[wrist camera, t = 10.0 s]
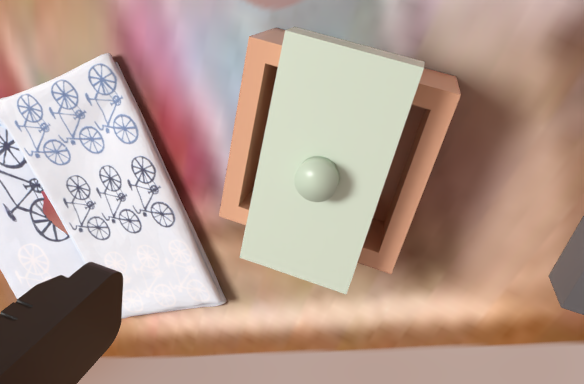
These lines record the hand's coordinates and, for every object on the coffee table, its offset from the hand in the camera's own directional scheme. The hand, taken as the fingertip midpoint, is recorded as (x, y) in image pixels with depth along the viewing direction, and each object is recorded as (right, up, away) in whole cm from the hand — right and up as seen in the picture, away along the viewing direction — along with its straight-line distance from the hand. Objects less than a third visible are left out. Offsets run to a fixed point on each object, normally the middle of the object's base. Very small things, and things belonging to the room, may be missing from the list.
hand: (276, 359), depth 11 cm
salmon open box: (+3, +7, +17) cm, 19 cm away
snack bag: (-16, +2, +26) cm, 31 cm away
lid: (+2, +5, +13) cm, 14 cm away
